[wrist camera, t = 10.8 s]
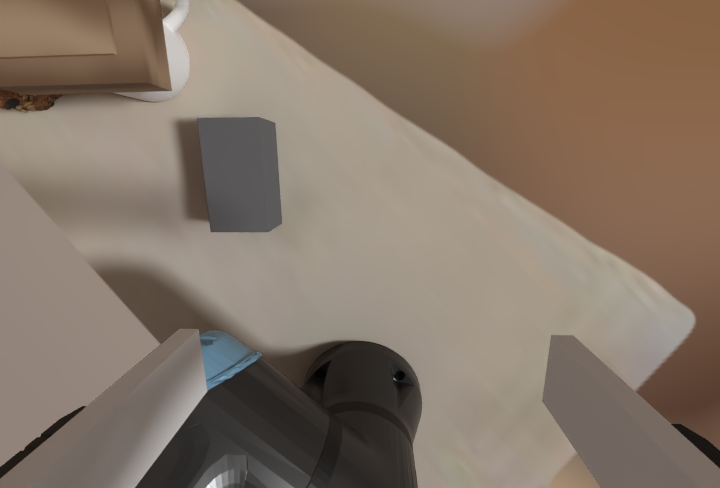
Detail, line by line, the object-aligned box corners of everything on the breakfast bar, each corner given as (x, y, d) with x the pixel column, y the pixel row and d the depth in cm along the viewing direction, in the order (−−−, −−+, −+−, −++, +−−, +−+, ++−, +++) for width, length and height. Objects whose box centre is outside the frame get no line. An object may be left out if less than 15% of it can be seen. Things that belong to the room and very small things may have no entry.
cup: (101, 54, 36) (-5, 13, 26) (179, -28, 34) (96, -106, 24) (155, 119, 37) (74, 105, 27) (234, 45, 35) (177, -1, 25)
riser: (282, 223, 39) (268, 232, 34) (231, 223, 39) (210, 232, 35) (275, 123, 36) (259, 117, 32) (221, 124, 37) (196, 118, 32)
